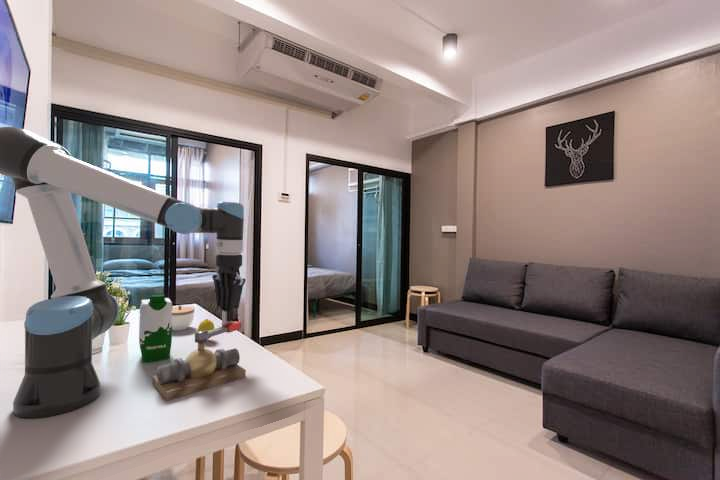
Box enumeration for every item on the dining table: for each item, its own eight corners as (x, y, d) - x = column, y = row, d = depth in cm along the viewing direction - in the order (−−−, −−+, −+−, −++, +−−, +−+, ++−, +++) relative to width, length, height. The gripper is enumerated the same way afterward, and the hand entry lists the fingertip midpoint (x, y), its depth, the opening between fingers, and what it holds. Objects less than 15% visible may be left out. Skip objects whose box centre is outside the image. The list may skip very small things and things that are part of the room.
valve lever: (200, 343, 90) (200, 334, 90) (192, 341, 91) (192, 332, 91) (242, 329, 103) (242, 321, 103) (234, 327, 105) (234, 320, 105)
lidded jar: (167, 325, 142) (168, 303, 142) (196, 324, 145) (196, 302, 145) (161, 333, 132) (161, 309, 131) (191, 331, 135) (192, 308, 135)
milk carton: (139, 364, 101) (141, 298, 101) (138, 355, 108) (139, 292, 108) (173, 358, 106) (174, 295, 106) (169, 350, 114) (170, 290, 113)
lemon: (196, 343, 121) (196, 321, 121) (199, 338, 126) (199, 317, 126) (212, 342, 122) (213, 320, 122) (215, 337, 128) (215, 316, 128)
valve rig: (166, 400, 81) (167, 357, 80) (152, 383, 89) (152, 344, 89) (245, 376, 95) (246, 339, 95) (226, 364, 103) (227, 330, 103)
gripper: (205, 252, 102) (202, 329, 103) (232, 255, 95) (229, 338, 96) (226, 251, 109) (224, 324, 110) (253, 254, 102) (251, 332, 103)
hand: (226, 331), depth 103 cm, fingers closed
